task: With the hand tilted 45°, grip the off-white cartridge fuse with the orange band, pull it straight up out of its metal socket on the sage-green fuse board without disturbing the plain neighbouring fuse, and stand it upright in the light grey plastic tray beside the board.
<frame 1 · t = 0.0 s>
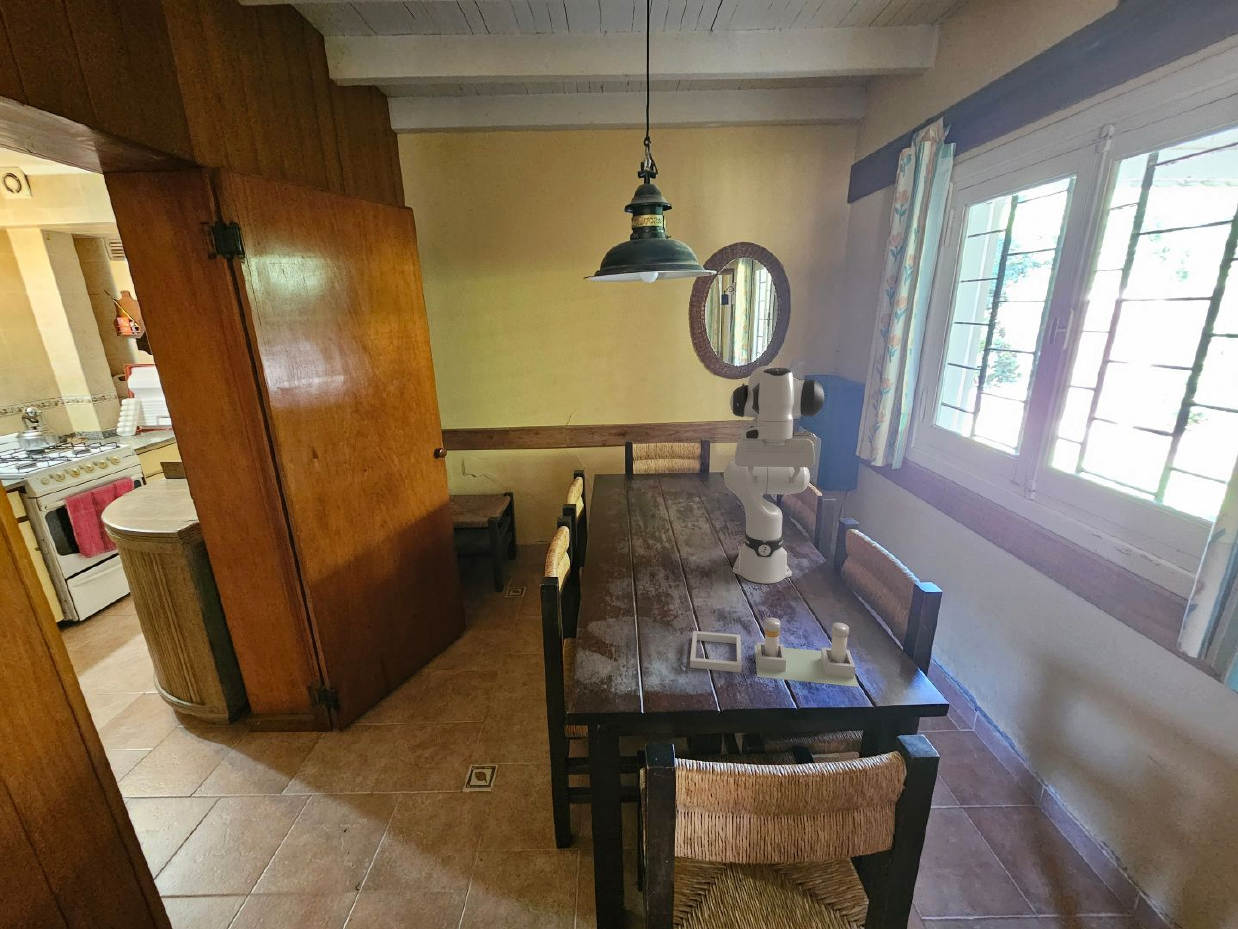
hand: (773, 483, 134), 39 cm above the table, tool pointing down, fingers open, 8 cm apart
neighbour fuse: (836, 667, 119), point 1 cm above the table, touching fuse board
marked fuse: (770, 661, 122), point 1 cm above the table, touching fuse board
fuse board: (803, 668, 121), on the table
parts tray: (716, 657, 126), on the table
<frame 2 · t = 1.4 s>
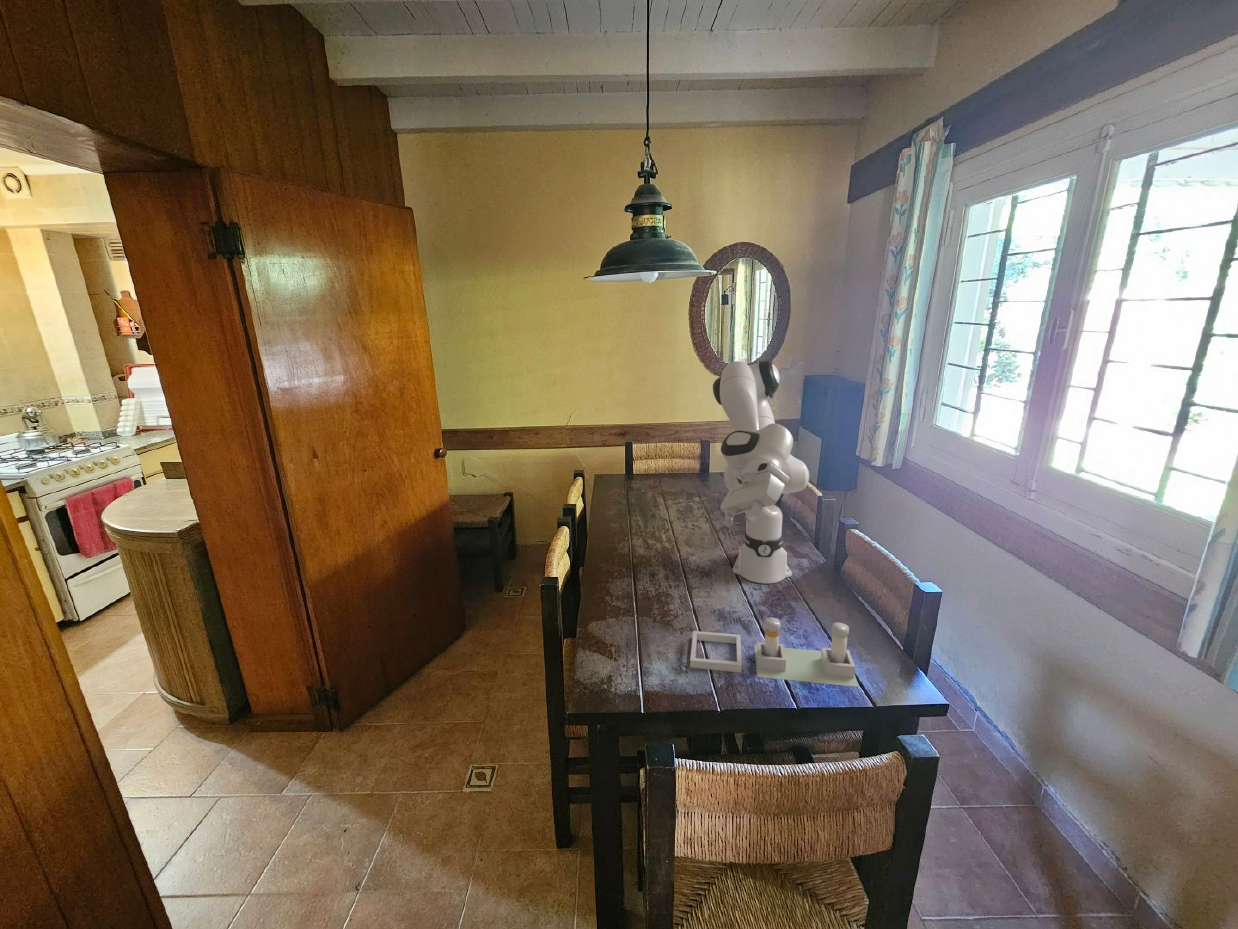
hand: (737, 523, 123), 33 cm above the table, tool tilted 50°, fingers open, 8 cm apart
nothing on the table moved.
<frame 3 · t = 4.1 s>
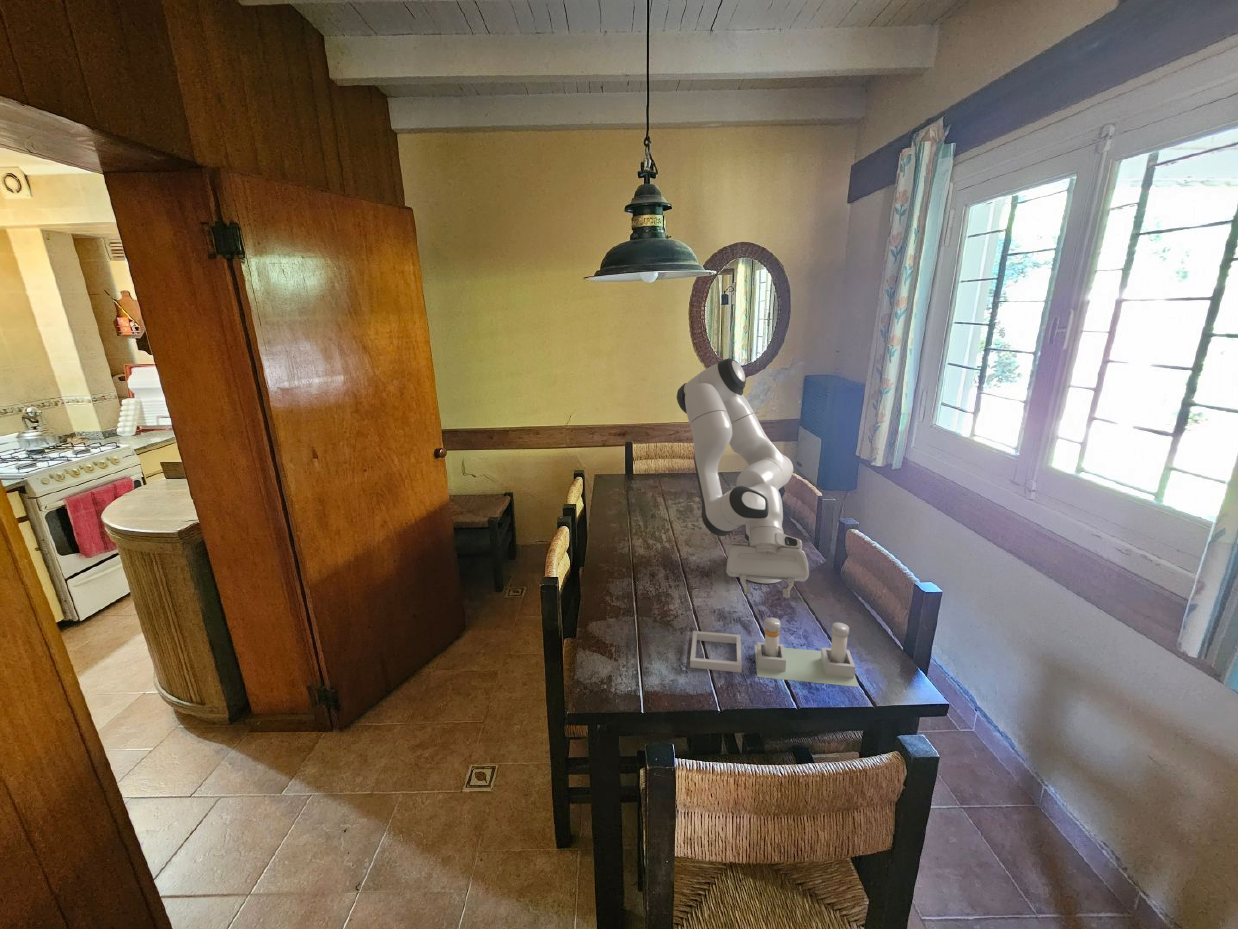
hand: (766, 595, 126), 14 cm above the table, tool tilted 45°, fingers open, 8 cm apart
nothing on the table moved.
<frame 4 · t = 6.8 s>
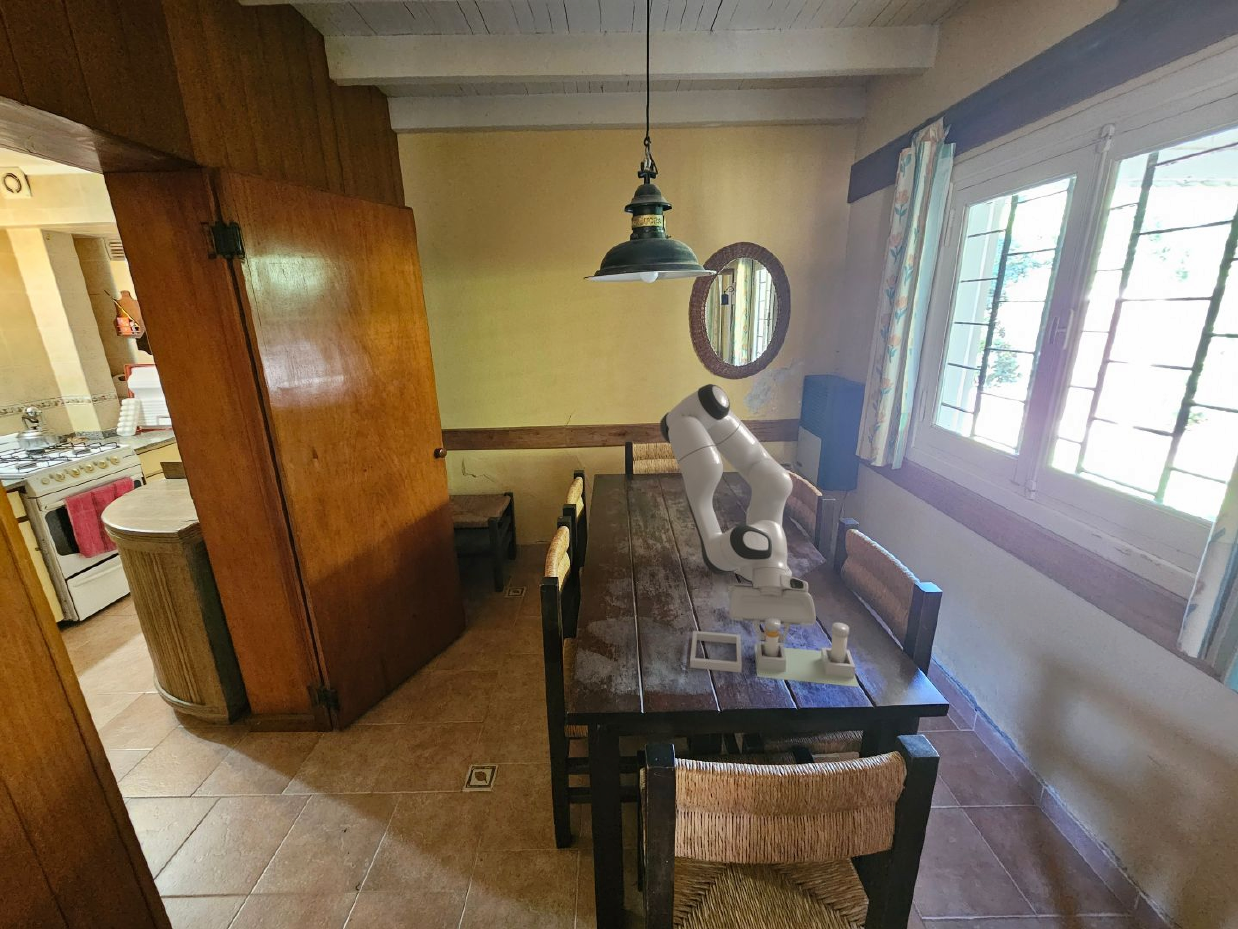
hand: (772, 641, 120), 7 cm above the table, tool tilted 45°, fingers closed on marked fuse, 3 cm apart
marked fuse: (770, 661, 122), point 1 cm above the table, touching fuse board, gripper
everything else where it was.
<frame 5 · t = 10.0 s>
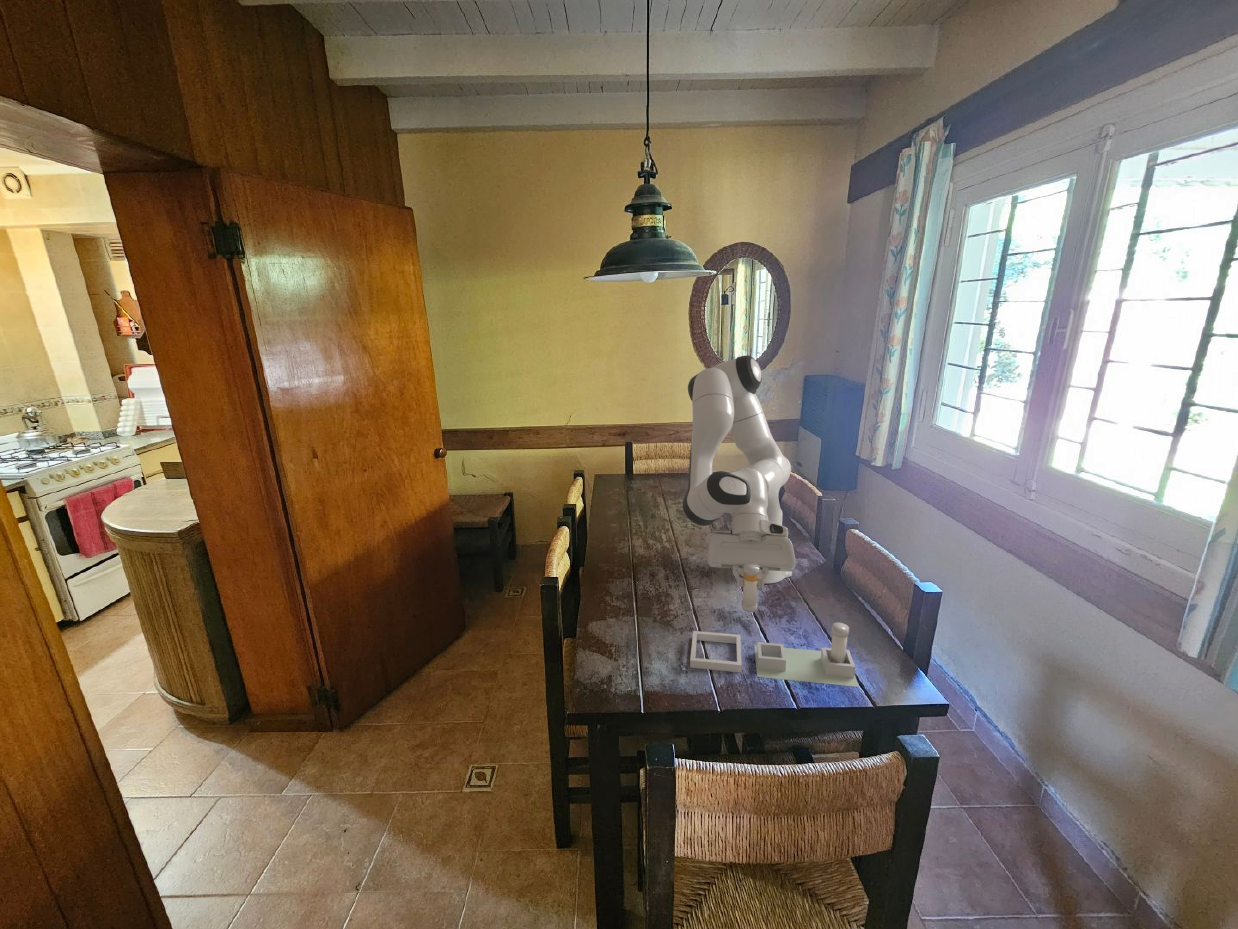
hand: (750, 586, 117), 21 cm above the table, tool tilted 45°, fingers closed on marked fuse, 3 cm apart
marked fuse: (749, 608, 120), point 15 cm above the table, touching gripper
everything else where it was.
when the fingers open (8 cm above the table, at t = 13.4 s): marked fuse drops 1 cm, resting on parts tray.
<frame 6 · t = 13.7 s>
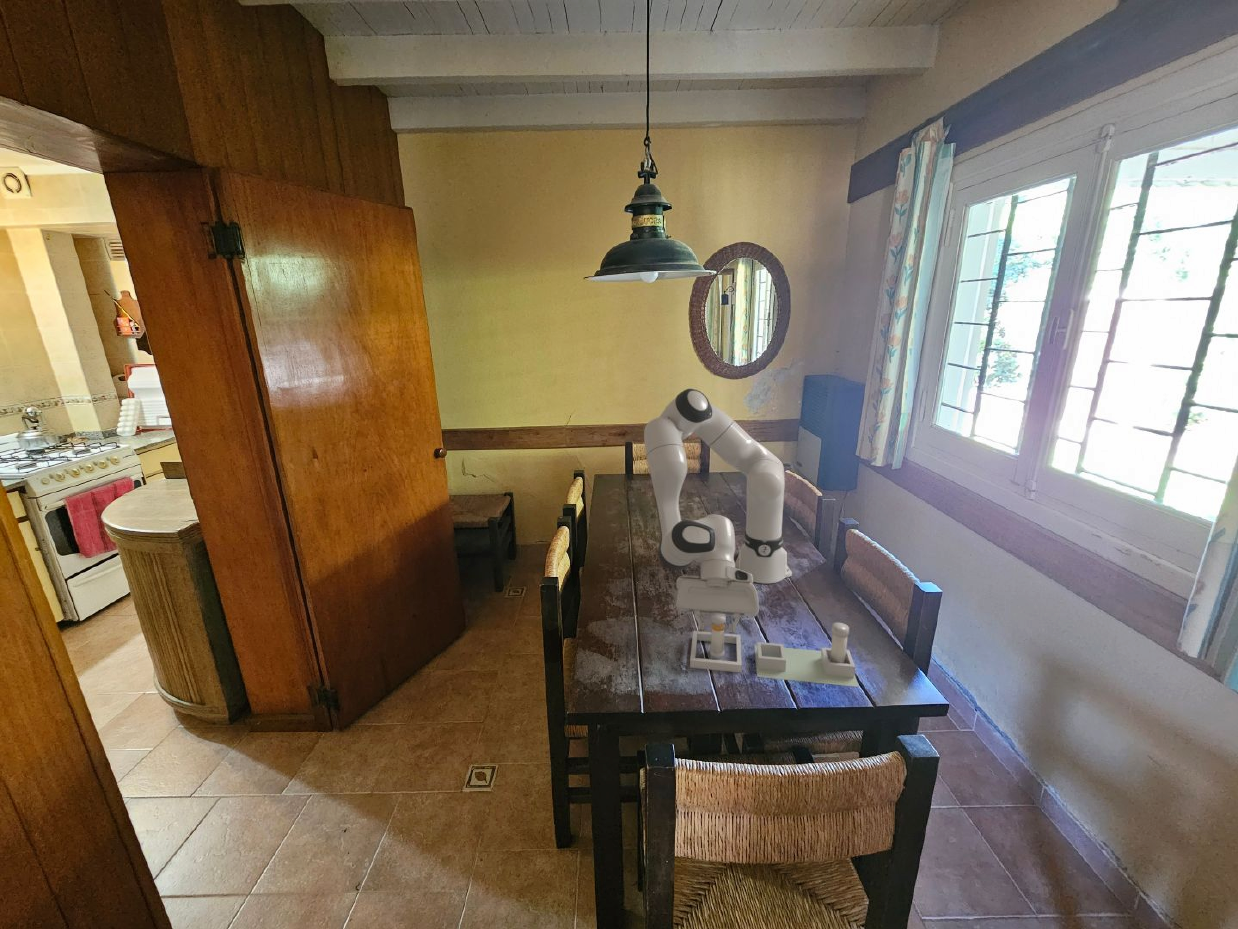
hand: (716, 631, 123), 8 cm above the table, tool tilted 45°, fingers open, 6 cm apart
marked fuse: (717, 654, 126), point 1 cm above the table, touching parts tray
everything else where it was.
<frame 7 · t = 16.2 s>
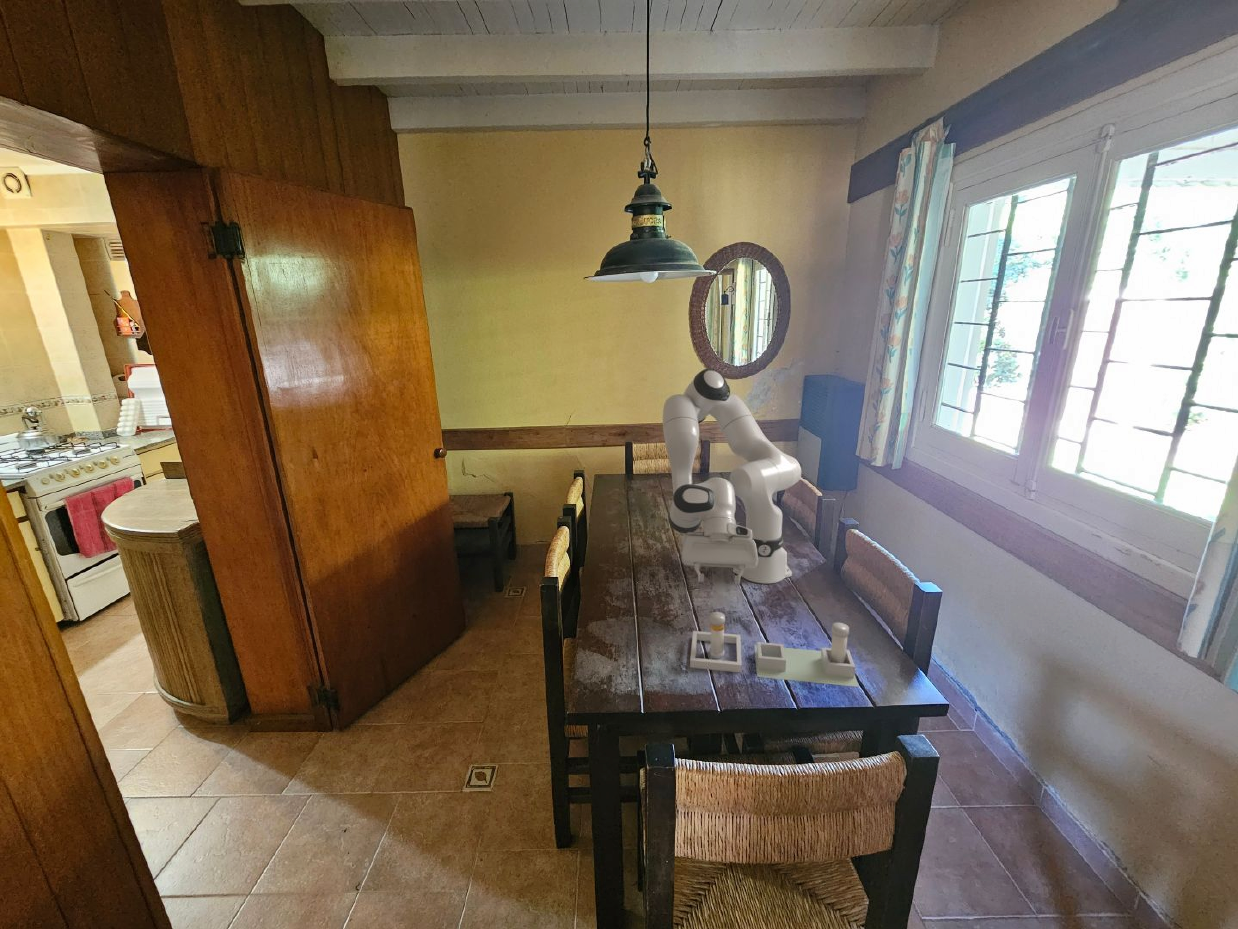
hand: (719, 582, 133), 14 cm above the table, tool tilted 45°, fingers open, 8 cm apart
nothing on the table moved.
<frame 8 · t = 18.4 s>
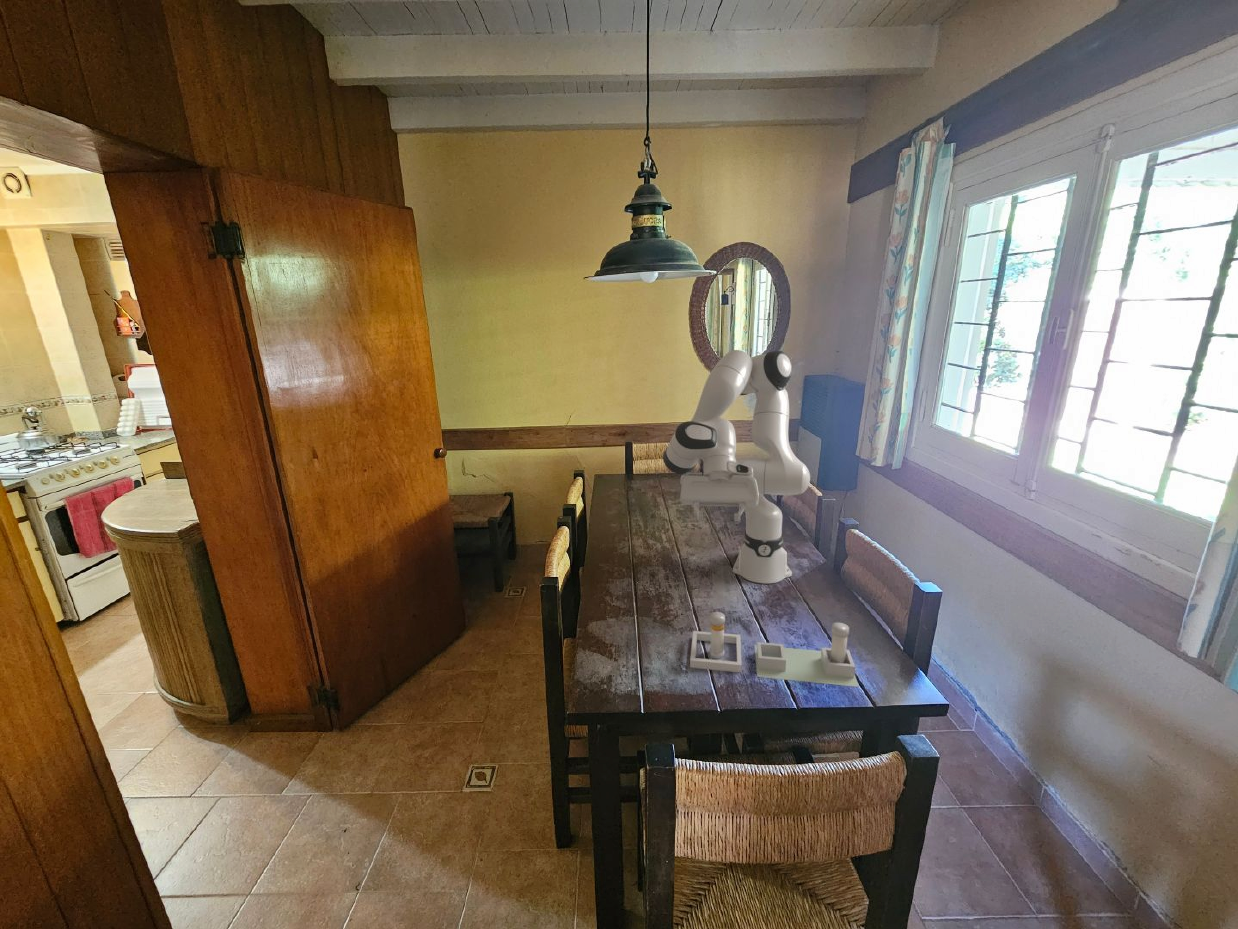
hand: (718, 520, 130), 31 cm above the table, tool tilted 45°, fingers open, 8 cm apart
nothing on the table moved.
at the end: marked fuse inside the target area on the parts tray (0.2 cm from its centre), point 0.8 cm above the parts tray's base; marked fuse tilted 0°; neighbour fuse moved 0.0 cm from its start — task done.
